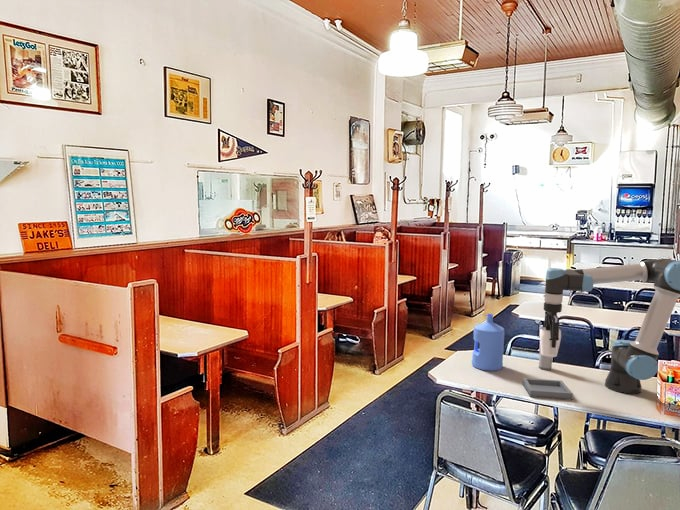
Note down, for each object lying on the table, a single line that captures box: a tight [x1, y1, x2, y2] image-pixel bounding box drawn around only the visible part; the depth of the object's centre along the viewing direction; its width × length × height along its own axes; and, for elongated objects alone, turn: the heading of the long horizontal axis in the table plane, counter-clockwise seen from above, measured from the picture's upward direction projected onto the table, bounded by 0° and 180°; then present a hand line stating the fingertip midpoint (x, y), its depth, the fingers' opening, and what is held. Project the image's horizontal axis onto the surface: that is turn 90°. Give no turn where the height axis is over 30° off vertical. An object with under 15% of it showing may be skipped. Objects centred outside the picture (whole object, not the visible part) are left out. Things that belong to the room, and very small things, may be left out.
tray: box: [521, 377, 573, 400], centre depth 233 cm, size 18×16×3 cm
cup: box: [539, 326, 562, 358], centre depth 230 cm, size 9×9×12 cm
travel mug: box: [538, 344, 553, 371], centre depth 264 cm, size 6×7×20 cm
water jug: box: [471, 313, 505, 372], centre depth 264 cm, size 16×16×28 cm
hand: (549, 350), depth 230 cm, fingers closed on cup, 9 cm apart
